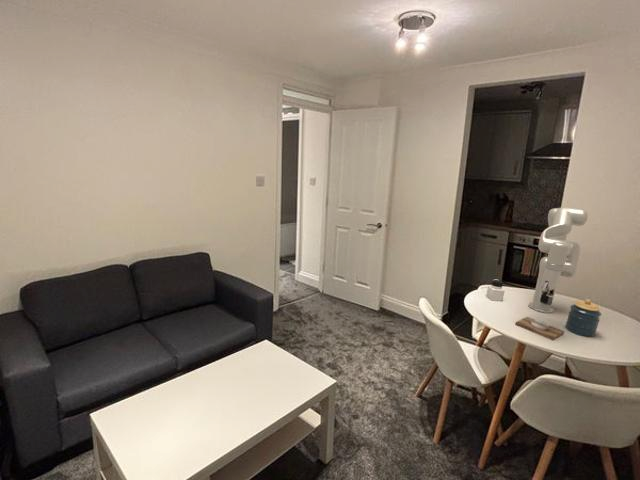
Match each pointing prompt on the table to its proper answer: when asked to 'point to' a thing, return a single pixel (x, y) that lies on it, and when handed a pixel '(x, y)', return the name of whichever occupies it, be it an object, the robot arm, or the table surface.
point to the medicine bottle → (495, 290)
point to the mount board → (541, 332)
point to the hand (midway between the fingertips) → (546, 301)
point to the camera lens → (549, 299)
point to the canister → (583, 318)
